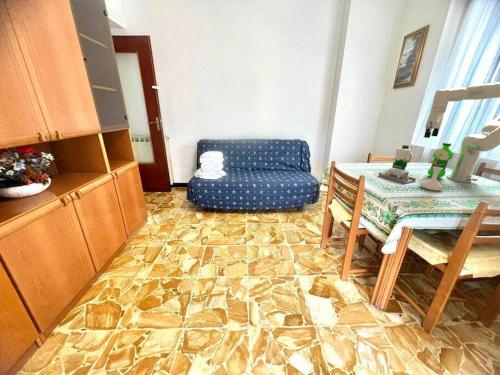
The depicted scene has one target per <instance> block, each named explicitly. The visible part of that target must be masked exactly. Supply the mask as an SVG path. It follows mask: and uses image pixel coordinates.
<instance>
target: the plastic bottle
mask: <svg viewBox="0 0 500 375" xmlns="http://www.w3.org/2000/svg"><path fill="white" fill-rule="evenodd" d="M450 147H452V143H451V142H443V143H442V147H441V148H440V149H442V150H443V149H444V150H445V151H447V153H448V155H449V157H448V158H447V160H446V159H445V160H442V159H440V158H438V157H437V156H436V155H435V151H433V153H432V158H433V160H434V161H435V162H436V163H437V167H440V168H443V169H442V170H441V171H440V172H439V174H438V176H437V179H440V178H442V177H444V176H445V175H446V173H447V172H446V168H447V166H448V163H449V161H450V160H451V159H452V158H453V157H454V152H453V151H452V149H450ZM437 158H438V159H437ZM436 160H437V161H436ZM439 164H442V165H439ZM433 167H436V164H433V163H432V164H431V166H430V168H429V169H427V175H429V177H430V178H432V176H433V172H434V170H433Z"/></svg>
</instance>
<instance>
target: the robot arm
mask: <svg viewBox="0 0 500 375" xmlns="http://www.w3.org/2000/svg"><path fill="white" fill-rule="evenodd" d="M434 93H435V94H434V97H433V101H432V104H431V109H430V111H429V112H430V113H429V115H428V117H427V120H426V122H425V126H424V128H425V131H424V135H423V138H427V139H429V138H431V137H438V134H439V132H440V128H441V126H442V123H443V120H444V114H445V113H446V111H447V108H448V103H450V102H462V101H465V100H467V101H468V100H471V101H474V100H487V99H497V98H500V82H494V83H486V84H479V85H474V86H466V87H460V88H451V89H450V88H449V89H448V88H446V89H438V90H436V91H435V92H434ZM480 132H481V134H477V133H474V134H468V135H467V136H465V137H464V138H463V139H462V142H461V147H460V151H459V154H458V156H457V158H456V161H455V164H454V166H453V168H452V171H451V174H448V175H447V176H446V178H447V179H449V180H451V181H455V182H460V183H471V182H473V181H474V182H477V181H478V178H477V177H473V175H472V172H473V170H474V169H475V166H476V163H477V161H478V159H479V156H480V152H489V151H492V150H494V149H495V148H497V147H498V146H500V115H499V116H497V117H496V118H495V119H493V120H491V121H490V122H489V123H487V124H486V125H485V126H483V127H482V129H481V131H480Z"/></svg>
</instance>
